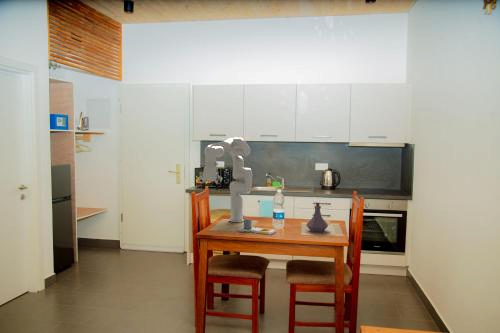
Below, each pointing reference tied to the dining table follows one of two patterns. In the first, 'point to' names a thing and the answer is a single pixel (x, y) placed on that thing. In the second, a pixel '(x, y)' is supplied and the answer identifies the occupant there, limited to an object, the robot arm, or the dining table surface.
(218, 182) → the robot arm
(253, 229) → the white flat tray
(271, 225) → the dining table surface
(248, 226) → the nut block
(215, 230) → the dining table surface
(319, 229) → the flask
